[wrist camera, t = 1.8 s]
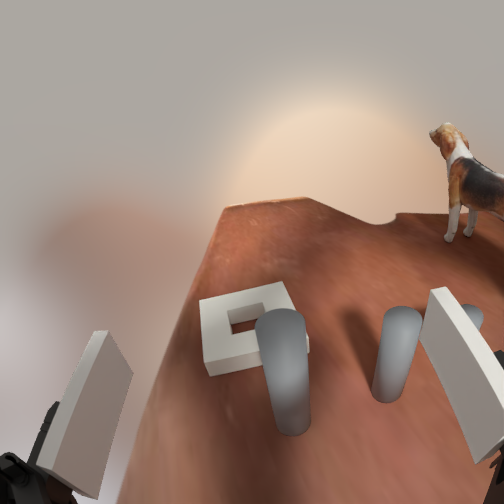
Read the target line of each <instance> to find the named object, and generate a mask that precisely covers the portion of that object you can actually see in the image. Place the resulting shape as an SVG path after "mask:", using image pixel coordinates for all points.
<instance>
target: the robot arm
mask: <svg viewBox="0 0 504 504" xmlns="http://www.w3.org/2000/svg"><path fill="white" fill-rule="evenodd" d="M419 340H420V342H421V344H422V346H423V347H424V349H425V351H426V353H427V355H428V357H429V359H430V361H431V363H432V365H433V367H434V369H435V371H436V373H437V375H438V378H439V380H440V382H441V384H442V386H443V388H444V390H445V392H446V395H447V397H448V399H449V401H450V403H451V406H452V408H453V410H454V413H455V415H456V417H457V419H458V422H459V424H460V427H461V429H462V432H463V434H464V436H465V439H466V441H467V444H468V447H469V449H470V452H471V455H472V457H473V460H474V463H475V465H476V464H478V463H480V462H482V461H484V460H486V459H488V458H490V457H492V456H493V455H494V454H495V453H496V452H497V451H498V450H499V449H500V452H501V455H500V456H499V457H497V458H496V459H495V460H494V461H493V462H492V463H491V465H490V467H489V468H492V467H494V466H495V465H496V464H497V466H496V468H495V472H494V475H493V478H492V481H491V484H490V486H489V489H488V492H487V495H486V497H485V500H484V502H483V504H504V352H503V351H501V350H499V351H497V352H494V353H493V352H492V351H491V349H490V348H489V346H488V345H487V343H486V342H485V340H484V339H483V337H482V336H481V334H480V333H479V331H478V330H477V328H476V327H475V325H474V324H473V323H472V321H471V320H470V318H469V317H468V316H467V314H466V313H465V311H464V310H463V309H462V307H461V306H460V305H459V303H458V302H457V301H456V299H455V298H454V297H453V295H452V294H451V293H450V291H449V290H448V289H447V287H441V288H437V289H432V290H430V295H429V300H428V304H427V309H426V313H425V317H424V321H423V326H422V329H421V333H420V337H419ZM132 376H133V372H132V370H131V368H130V367H129V365H128V363H127V362H126V360H125V358H124V357H123V355H122V354H121V352H120V350H119V348H118V347H117V345H116V343H115V341H114V340H113V338H112V336H111V334H110V332H109V331H94V333H93V335H92V337H91V339H90V341H89V343H88V345H87V347H86V349H85V351H84V353H83V355H82V357H81V359H80V361H79V363H78V365H77V367H76V369H75V371H74V373H73V375H72V378H71V380H70V382H69V384H68V386H67V388H66V391H65V393H64V395H63V397H62V400H61V402H57V401H56V402H55V403H54V404H53V405H52V407H51V408H50V409H49V410H48V412H47V414H46V417H45V419H44V423H43V424H42V426H41V428H40V430H41V431H40V432H39V433H38V436H37V438H36V441H35V443H34V446H33V449H32V451H31V454H30V456H29V459H28V461H27V463H25V462H24V461H23V460H21V459H20V458H19V457H17V456H16V455H15V454H14V453H10V452H8V453H4V454H3V455H2V456H0V504H78V503H77V501H76V499H75V498H74V496H73V495H72V491H73V490H74V491H75V492H77V493H78V494H81V495H82V496H86V497H89V498H93V499H96V500H98V496H99V491H100V487H101V483H102V479H103V475H104V471H105V467H106V464H107V460H108V456H109V452H110V449H111V445H112V441H113V438H114V434H115V431H116V427H117V424H118V421H119V417H120V414H121V411H122V407H123V404H124V401H125V398H126V395H127V392H128V388H129V385H130V382H131V379H132Z"/></svg>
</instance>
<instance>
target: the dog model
mask: <svg viewBox="0 0 504 504" xmlns="http://www.w3.org/2000/svg"><path fill="white" fill-rule="evenodd" d="M429 134H430V138H431V140H432V141H433V142H434V143H435V144H436V145H437V146H438V147H440V151H441V154H442V156H443V157H444V159H445V160H446V163H447V175H448V182H449V189H448V190H449V223H448V231H447V234H446V235H445V236H444V240H445V241H447V242H449V243H451V242H452V240H453V238H454V235H455V233H456V231H457V227H458V220H459V214H460V210H461V206H462V205H464V206H466V207H467V208H469V215H468V223H467V227H466V229H464V231H463V233H464V235H465V236H468V237H470V236H471V235H472V232H473V230H474V228H475V226H476V222H477V215H478V211H486V212H490V213H491V214H493V215H494V216H496V217H497V218H498V219H500V220H501V221H503V222H504V175H503V174H498V173H495V172H493V171H492V170H490V169H489V168H487V167H486V166H484V165H483V164H481V163H480V162H478V161H477V160H476V159H475V158H474V157H473V155H472V154H471V153H470V152H469V145H468V141H467V139H466V137H465V136H464V135H463V134H462V133H461V132H459V131H458V130H457V129H456V127H454V126H453V125H452V124H451V123H448V122H447V123H444V124H443V125H441V126H440V127H439V128H438V129H436V130H431V131H430V133H429Z"/></svg>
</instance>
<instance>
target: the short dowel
mask: <svg viewBox="0 0 504 504" xmlns="http://www.w3.org/2000/svg"><path fill="white" fill-rule="evenodd" d="M460 306H461V307H462V309H463V310H464V311H465V313H466V314H467V316H468V317H469V318H470V320H471V321H472V323H473V324H474V325H475V327H476V328H477V330H478V331H479V330H480V327H481V324H482V322H483V318H484V316H483V313H482V311H481V310H480V309H479V308H477V307H476V306H473V305H470V304H463V305H460Z"/></svg>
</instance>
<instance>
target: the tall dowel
mask: <svg viewBox="0 0 504 504" xmlns="http://www.w3.org/2000/svg"><path fill="white" fill-rule="evenodd" d="M255 333H256V337H257V342H258V346H259V351H260V355H261V360H262V364H263V369H264V373H265V378H266V382H267V387H268V391H269V395H270V400H271V404H272V409H273V413H274V417H275V422H276V426H277V428H278V430H279V431H280V432H281V433H282V434H284V435H287V436H298V435H300V434H302V433H304V432H305V431H306V430H307V429H308V428H309V426H310V423H311V414H310V391H309V372H308V355H307V340H306V326H305V319H304V317H303V316H302V315H301V314H300V313H299V312H297V311H295V310H293V309H288V308H279V309H273V310H270V311H268V312H266V313H264V314H263V315H261V316H260V317H259V318H258V319H257V321H256V323H255Z"/></svg>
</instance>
